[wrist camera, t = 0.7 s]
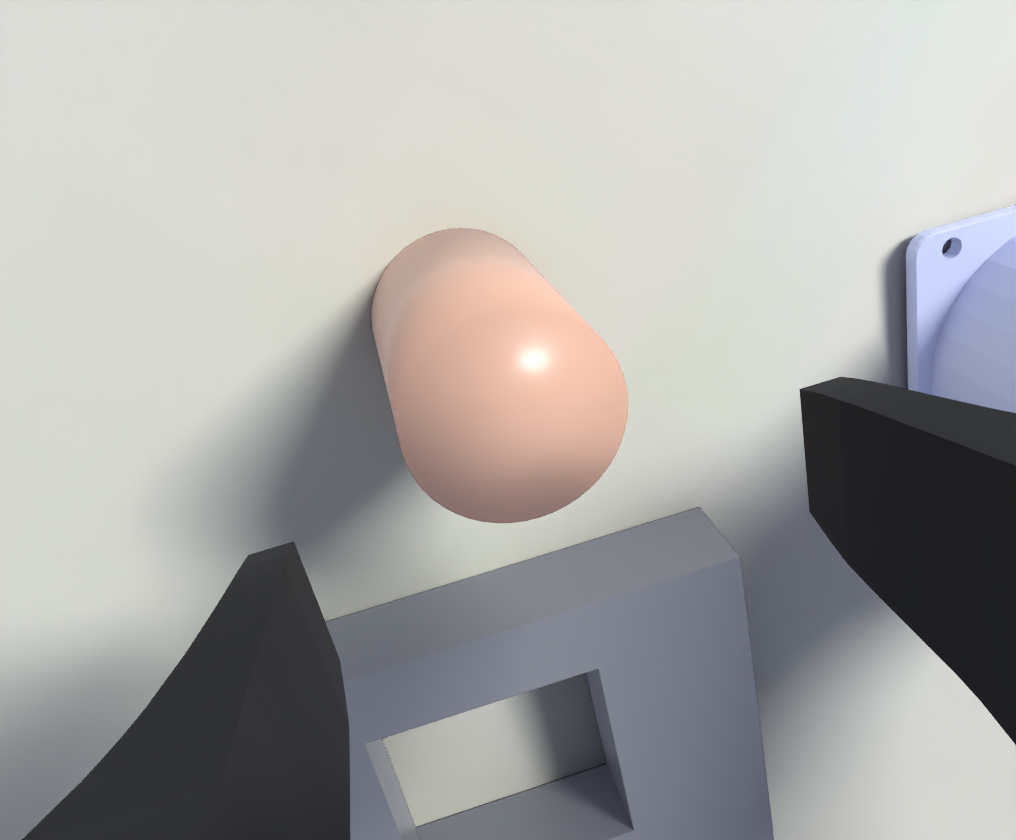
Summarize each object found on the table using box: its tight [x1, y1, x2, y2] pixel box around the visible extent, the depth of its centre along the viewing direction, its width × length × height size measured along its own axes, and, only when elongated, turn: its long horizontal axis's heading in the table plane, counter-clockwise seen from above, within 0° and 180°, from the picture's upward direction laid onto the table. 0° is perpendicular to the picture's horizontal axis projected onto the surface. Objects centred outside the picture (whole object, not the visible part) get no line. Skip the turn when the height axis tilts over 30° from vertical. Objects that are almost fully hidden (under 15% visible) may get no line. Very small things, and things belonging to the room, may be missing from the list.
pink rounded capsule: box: [371, 228, 628, 523], centre depth 18 cm, size 4×4×6 cm
